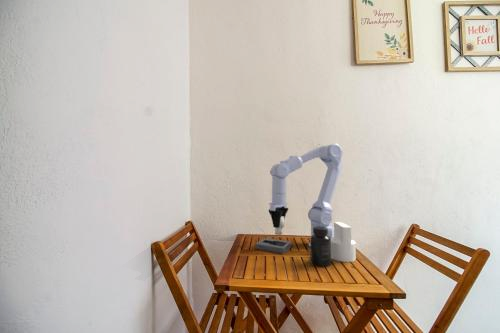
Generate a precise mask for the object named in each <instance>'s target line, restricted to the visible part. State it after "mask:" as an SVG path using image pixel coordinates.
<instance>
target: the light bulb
mask: <svg viewBox="0 0 500 333" xmlns="http://www.w3.org/2000/svg"><path fill="white" fill-rule="evenodd" d="M272 226H273V225H272ZM284 227H285V220H284V216H281V219H280V226H279V228H275V227H274V226H273V228H274V229H275V230H274V234H275V235H277V236H281V235H283V228H284Z"/></svg>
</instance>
